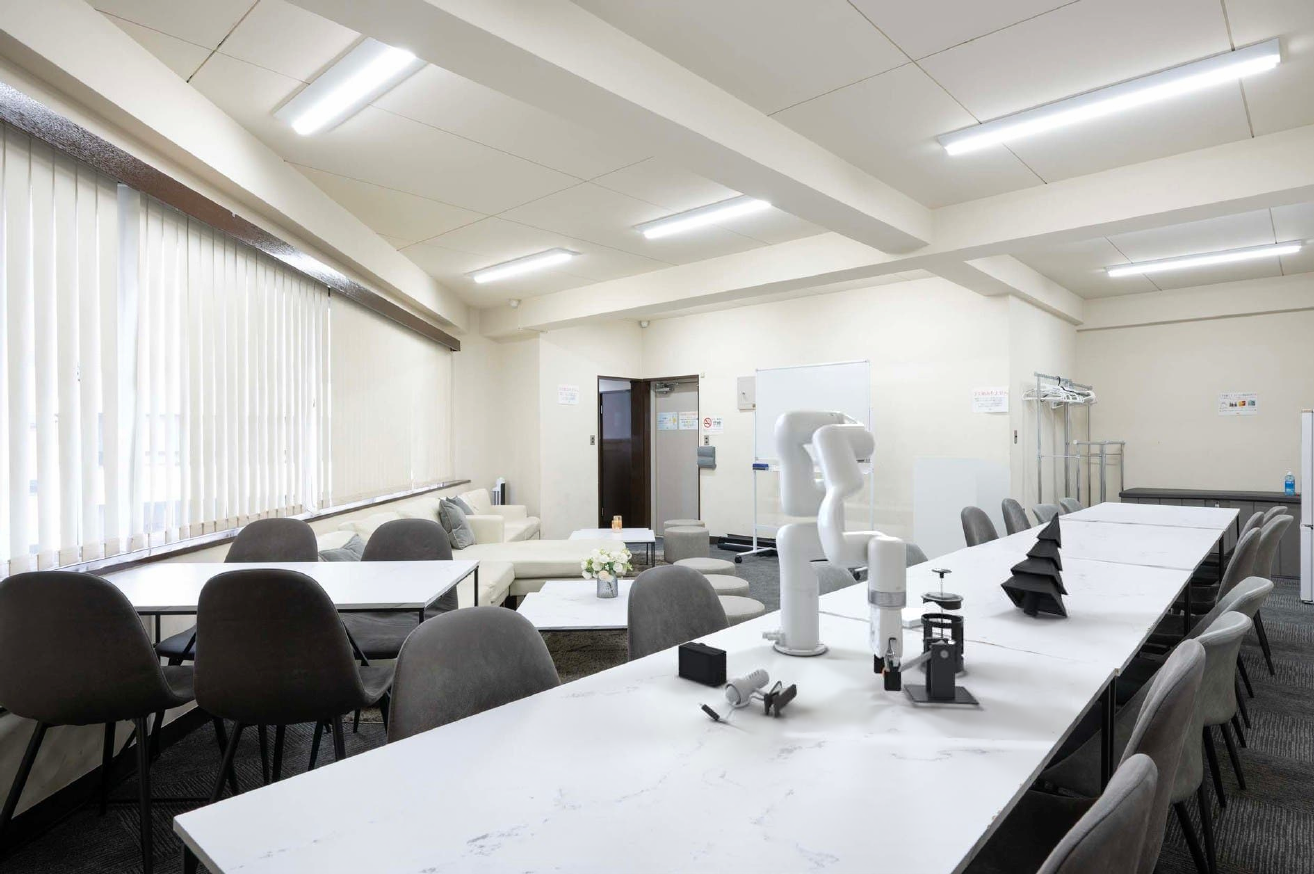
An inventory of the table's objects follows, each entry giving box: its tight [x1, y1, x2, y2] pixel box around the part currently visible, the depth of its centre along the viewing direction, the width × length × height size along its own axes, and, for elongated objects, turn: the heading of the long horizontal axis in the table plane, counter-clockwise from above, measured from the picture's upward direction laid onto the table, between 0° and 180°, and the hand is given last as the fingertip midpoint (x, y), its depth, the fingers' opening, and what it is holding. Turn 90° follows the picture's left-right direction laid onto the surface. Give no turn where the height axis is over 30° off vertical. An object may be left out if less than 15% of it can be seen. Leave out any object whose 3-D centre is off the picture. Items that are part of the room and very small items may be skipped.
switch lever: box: [881, 640, 944, 678], centre depth 139 cm, size 14×3×3 cm, turn 84°
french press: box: [920, 568, 965, 674], centre depth 155 cm, size 12×9×23 cm
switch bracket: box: [903, 636, 980, 706], centre depth 138 cm, size 12×9×12 cm
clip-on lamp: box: [698, 668, 798, 722], centre depth 132 cm, size 12×6×18 cm
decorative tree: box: [999, 511, 1069, 618], centre depth 207 cm, size 15×15×35 cm
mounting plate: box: [901, 606, 939, 629], centre depth 199 cm, size 18×13×2 cm
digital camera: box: [677, 641, 728, 688], centre depth 150 cm, size 10×5×7 cm, turn 47°
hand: (887, 681), depth 139 cm, fingers open, 9 cm apart
